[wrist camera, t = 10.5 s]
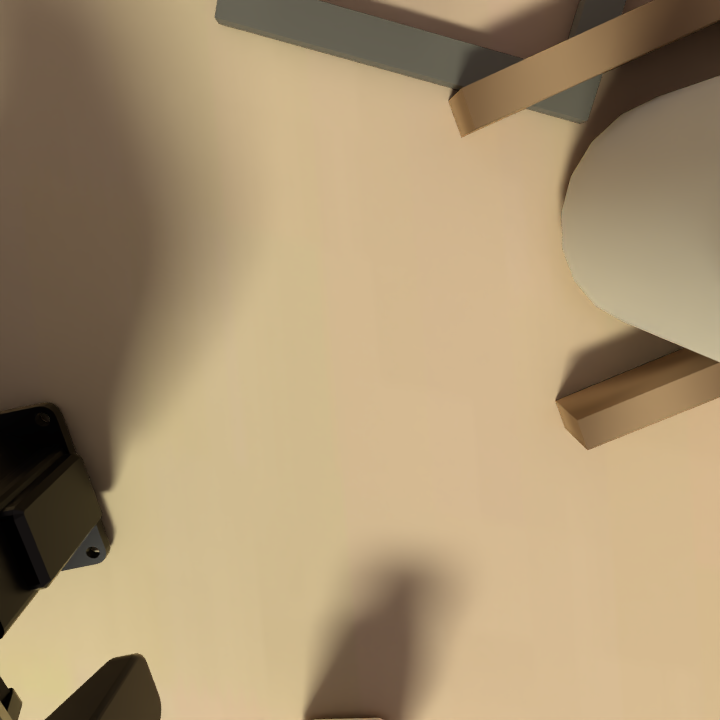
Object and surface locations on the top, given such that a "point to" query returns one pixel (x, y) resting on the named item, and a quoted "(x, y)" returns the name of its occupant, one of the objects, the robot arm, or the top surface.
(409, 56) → the holster frame
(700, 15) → the dock
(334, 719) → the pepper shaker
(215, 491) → the top surface
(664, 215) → the can
